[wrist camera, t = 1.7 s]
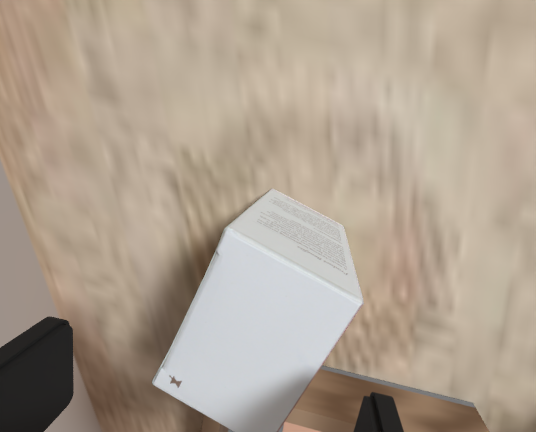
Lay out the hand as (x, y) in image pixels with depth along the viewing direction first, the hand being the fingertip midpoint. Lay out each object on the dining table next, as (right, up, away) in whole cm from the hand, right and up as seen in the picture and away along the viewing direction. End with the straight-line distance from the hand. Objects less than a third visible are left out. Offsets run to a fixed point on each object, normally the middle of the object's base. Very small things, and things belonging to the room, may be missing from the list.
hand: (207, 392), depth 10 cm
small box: (+3, +3, +12) cm, 13 cm away
